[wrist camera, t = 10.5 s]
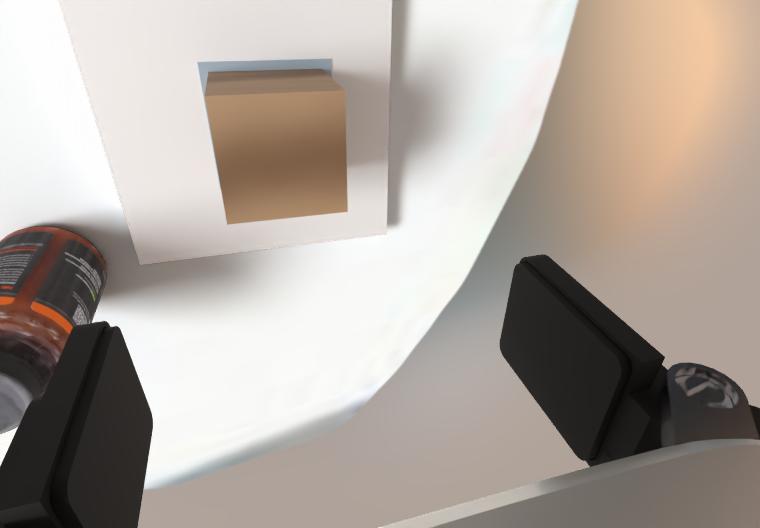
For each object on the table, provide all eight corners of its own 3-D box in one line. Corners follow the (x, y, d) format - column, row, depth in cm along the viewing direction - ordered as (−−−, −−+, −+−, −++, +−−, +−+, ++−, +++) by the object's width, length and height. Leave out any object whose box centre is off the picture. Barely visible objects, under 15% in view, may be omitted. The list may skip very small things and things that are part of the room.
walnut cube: (208, 71, 24) (204, 95, 19) (321, 68, 26) (345, 90, 21) (226, 180, 27) (227, 224, 22) (326, 171, 29) (347, 211, 24)
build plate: (52, -45, 21) (43, -46, 20) (386, -37, 25) (393, -37, 24) (142, 255, 29) (139, 265, 28) (381, 226, 33) (387, 234, 32)
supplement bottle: (-31, 263, 27) (-164, 412, 18) (45, 202, 26) (-51, 324, 17) (63, 320, 30) (-8, 471, 21) (131, 268, 30) (90, 398, 21)
